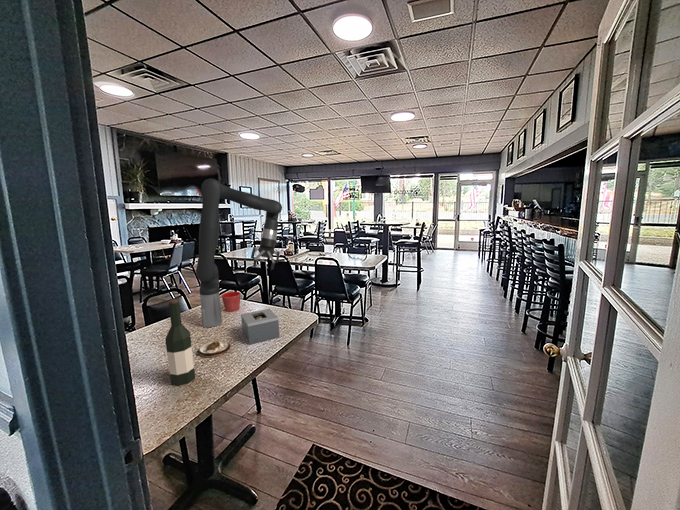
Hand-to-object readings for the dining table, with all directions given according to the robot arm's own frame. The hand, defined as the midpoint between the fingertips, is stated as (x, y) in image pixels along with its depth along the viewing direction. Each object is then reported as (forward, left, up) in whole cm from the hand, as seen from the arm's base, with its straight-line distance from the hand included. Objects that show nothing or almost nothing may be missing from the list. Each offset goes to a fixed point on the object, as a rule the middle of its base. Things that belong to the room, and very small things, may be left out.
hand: (263, 268), depth 158 cm
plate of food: (-29, -21, -29) cm, 46 cm away
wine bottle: (-42, -38, -29) cm, 64 cm away
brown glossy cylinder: (-8, -17, -29) cm, 34 cm away
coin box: (-8, -17, -29) cm, 34 cm away
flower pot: (-13, +28, -29) cm, 42 cm away
